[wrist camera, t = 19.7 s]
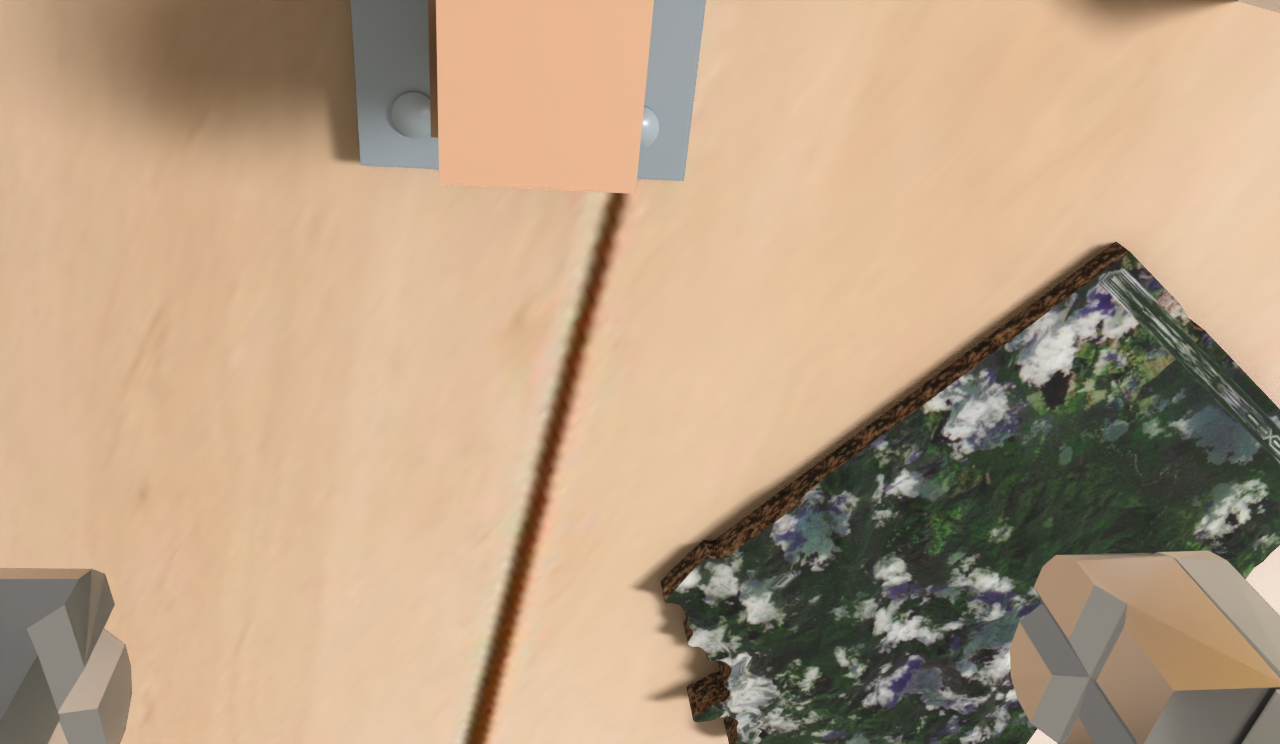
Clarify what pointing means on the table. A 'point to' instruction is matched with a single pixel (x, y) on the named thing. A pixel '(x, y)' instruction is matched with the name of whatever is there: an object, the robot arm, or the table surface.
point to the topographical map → (979, 520)
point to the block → (542, 92)
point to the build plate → (400, 85)
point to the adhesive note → (1264, 4)
